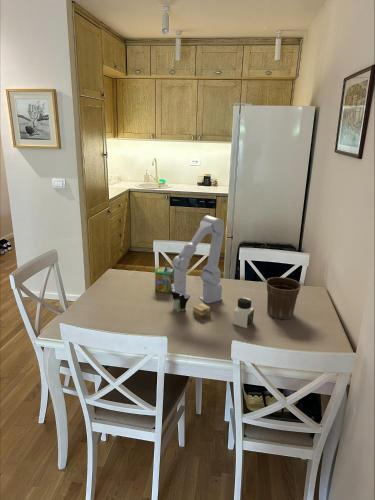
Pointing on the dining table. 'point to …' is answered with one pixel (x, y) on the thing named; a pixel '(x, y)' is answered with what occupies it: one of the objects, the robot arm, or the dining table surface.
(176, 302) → the green cube
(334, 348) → the dining table surface
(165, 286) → the chalk box
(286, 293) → the plant pot
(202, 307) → the oak slab
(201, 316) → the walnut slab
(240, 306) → the medicine bottle
